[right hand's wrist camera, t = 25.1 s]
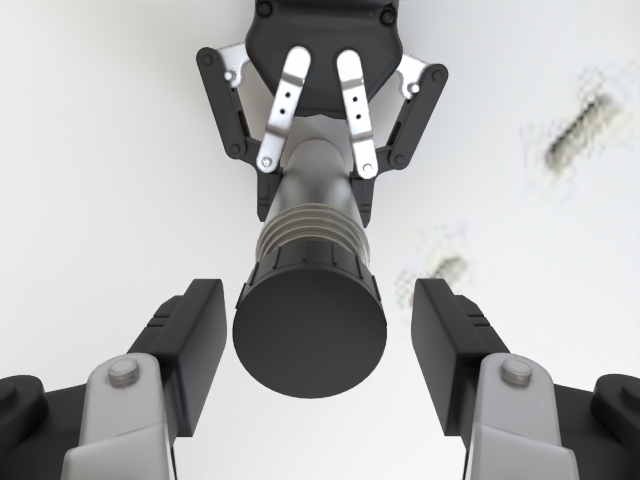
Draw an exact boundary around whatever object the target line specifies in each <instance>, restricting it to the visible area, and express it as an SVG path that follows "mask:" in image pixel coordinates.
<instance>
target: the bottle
mask: <svg viewBox="0 0 640 480" xmlns="http://www.w3.org/2000/svg"><path fill="white" fill-rule="evenodd" d="M304 239H307V241H309V240H312V241H323V242H328V243H331V244H332V243H335V244H336V245H338V246H340V247H342V248H344V249H346V250H348V251H349V252H351V253H353V254H354V255H355V256H357V255H358V256H359V258H360V260H361V261H362V262H363V263H364V264H365V266H366V267H367V268H368V269H369V262H370V249H369V244H368V240H367V237H366V233H365V230H364V227H363V224H362V220H361V217H360V214H359V210H358V207H357V204H356V200H355V197H354V194H353V191H352V187H351V184H350V181H349V177H348V174H347V171H346V167H345V164H344V161H343V158H342V155H341V153H340V152H339V150H338V149H337V148H336V147H335V146H334V145H333V144H331V143H330V142H328V141H325V140H321V139H311V140H307V141H305V142H303V143H301V144H300V145H298V146H297V147H296V148H295V149H294V151H293V152H292V154H291V156H290V159H289V162H288V164H287V167H286V169H285V172H284V174H283V177H282V180H281V182H280V185H279V187H278V190H277V192H276V195H275V197H274V200H273V203H272V205H271V208H270V210H269V213H268V215H267V218H266V221H265V223H264V226H263V228H262V231H261V233H260V236H259V239H258V241H257V246H256V262H257V261H258V262H260V261H261V259H263V258H264V257H265V256H266V255H267V254H269V253H270V252H272V251H273V250H275V249H277V247H278V246H280V247H281V246H283V245H287V244H290V243H293V242H299V241H304Z"/></svg>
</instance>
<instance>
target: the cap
mask: <svg viewBox="0 0 640 480" xmlns="http://www.w3.org/2000/svg"><path fill="white" fill-rule="evenodd" d="M235 309H237V311H236V314H235V318H234V322H233V343H234V347H235V350H236V353H237V356H238V358H239V360H240V362H241V363H242V365H243V366H244V368H245V369H246V370H247V371H248V372H249V374H250V375H251V376H252V377H253V378H255V379H256V380H257V381H258V382H259V383H261V384H262V385H264V386H265V387H267V388H269V389H271V390H273V391H275V392H278V393H281V394H283V395H287V396H291V397H297V398H307V399H313V398H324V397H330V396H333V395H337V394H340V393H343V392H345V391H347V390H349V389H351V388H353V387H355V386H356V385H358V384H359V383H361V382H362V381H363V380H364V379H366V378H367V377H368V376H369V375H370V374H371V373H372V371H373V370H374V369H375V368H376V366H377V365H378V363H379V361H380V359H381V357H382V355H383V353H384V349H385V346H386V340H387V327H386V326H387V322H386V318H385V315H384V311H383V307H382V304H381V297H380V294H379V290H378V287H377V283H376V280H375V276H374V275H373V276H372V275H371V273H370V271H369V270H368V268H367V267H366V266H365V264H364V263H363V262H362V261H361V260H360V258H359V256H358V255H357V256H355V255H354V254H353V253H351V252H349V251H348V250H346V249H344V248H342V247H340V246H338V245H336V244H335V243H332V244H331V243H328V242H323V241H312V240H309V241H307V239H304V241H299V242H293V243H290V244H287V245H283V246H281V247H280V246H278V247H277V249H275V250H273V251H272V252H270V253H269V254H267V255H266V256H265V257H264V258H263V259H261V261H260V262H258V261H257V262H256V264H255V267H254V269H253V271H252V272H251V274H250V276H249V278H248V281H247V283H244V286H243V288H242V291H241V294H240V296H239V299H238V302H237V304H236V307H235Z"/></svg>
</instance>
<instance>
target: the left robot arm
mask: <svg viewBox="0 0 640 480" xmlns="http://www.w3.org/2000/svg"><path fill="white" fill-rule="evenodd" d="M398 6H399V0H255V15H254V19H253V22H252V25H251V27H250V29H249V31H248V33H247V35H246V39H245V42H242V43H239V44H235V45H231V46H228V47H224V48H220V49H212V48H209V47H204V48H202V49H200V50H199V51H198V53H197V56H196V61H197V65H198V68H199V71H200V74H201V77H202V80H203V83H204V86H205V90H206V93H207V96H208V99H209V102H210V105H211V108H212V111H213V114H214V117H215V121H216V124H217V127H218V130H219V133H220V136H221V139H222V142H223V145H224V148H225V151H226V154H227V155H228V156H229V157H230V158H232V159H240V160H242V161H244V162H247V163H249V164H251V165H252V166H253V167H254V168H255V169H256V171H257V176H258V179H257V214H258V217H259V219H260V222H265V221H266V218H267V215H268V213H269V210H270V208H271V205H272V203H273V200H274V197H275V195H276V192H277V190H278V187H279V185H280V182H281V180H282V177H283V167H280V159H281V156H282V153H283V150H284V147H285V144H286V141H287V137H288V134H289V132H290V129H291V126H292V123H293V120H294V117H295V116H299V117H308V116H313V115H318V114H322V115H325V116H328V117H331V118H334V119H345V122H346V127H347V131H348V135H349V140H350V145H351V150H352V155H353V160H354V165H353V172H349V181H350V184H351V187H352V191H353V194H354V197H355V200H356V204H357V207H358V210H359V214H360V217H361V220H362V224H363V227H364V228H366V227H367V225H368V223H369V222H370V216H371V207H372V198H373V189H374V182H375V179H376V178H377V176H378V175H379V174H381V173H383V172H386V171H389V170H393V169H396V170H402V169H404V168H406V167H407V166H408V164H409V163H410V160H411V158H412V156H413V154H414V152H415V149H416V147H417V145H418V143H419V141H420V138H421V136H422V134H423V132H424V130H425V128H426V125H427V123H428V121H429V119H430V117H431V114H432V112H433V110H434V108H435V106H436V103H437V101H438V99H439V97H440V95H441V93H442V90H443V88H444V86H445V84H446V82H447V79H448V70H447V68H446V67H445V66H444V65H442V64H429V63H426V62H424V61H422V60H419V59H417V58H415V57H412V56H410V55H408V54H405V53H403V47H402V43H401V41H400V38H399V35H398V30H397V15H398ZM250 61H251V62H252V64H253V65H254V67H255V68H256V70H257V72H258V73H259V75H260V76H261V78H262V79H263V81H264V83H265V84H266V86H267V87H268V89H269V90H270V92H271V93H272V95H273V97H274V98H275V99H274V102H273V105H272V109H271V112H270V115H269V118H268V122H267V125H266V130H265V134H264V137H263V140H262V142H260V141H258V140H256V139H253V138H251V135H250V132H249V128H248V125H247V121H246V118H245V115H244V111H243V108H242V105H241V101H240V98H239V94H238V91H237V88H236V87H239V86H241V85H242V84H243V82H244V79H245V75H244V69H245V66H246V64H247V63H248V62H250ZM395 71H396V72H397V73H398V74H399V76H400V85H399V92H400V94H401V96H402V97H403V98H405V101H404V104H403V106H402V108H401V111H400V113H399V115H398V118H397V120H396V122H395V125H394V127H393V129H392V132H391V134H390V136H389V139H388V141H387V143H386V146H384V147H380V148H377V149H375V147H374V142H373V132H372V126H371V120H370V115H369V109H368V103H369V102H370V101H371V100H372V98H373V97H374V96H375V95H376V93H377V92H378V91H379V90H380V89H381V87H382V86H383V85H384V84H385V83H386V81H387V80H388V79H389V78H390V76H391V75H392V74H393V73H394V72H395Z"/></svg>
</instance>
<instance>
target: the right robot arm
mask: <svg viewBox="0 0 640 480" xmlns="http://www.w3.org/2000/svg"><path fill="white" fill-rule="evenodd" d="M411 337H412V344H413V348H414V350H415V353H416V356H417V359H418V362H419V365H420V367H421V370H422V373H423V376H424V379H425V381H426V384H427V387H428V390H429V393H430V396H431V398H432V401H433V404H434V407H435V410H436V413H437V415H438V418H439V421H440V424H441V427H442V430H443V432H444V435H445V436H461V438H462V441H463V443H464V446H465V448H466V453H465V458H464V466H463V474H462V480H640V379H639V378H636V377H633V376H628V375H623V374H607V375H603V376H601V377H600V378H599V379H598V380H597V382H596V385H595V388H594V391H593V392H590V391H585V390H580V389H575V388H571V387H566V386H561V385H557V384H553V381H552V378H551V376H550V374H549V373H548V372H547V371H546V370H545V369H544V368H543V367H542V366H540V365H539V364H538V363H536V362H534V361H532V360H530V359H528V358H526V357H523V356H520V355H516V354H511V353H510V351H509V350H508V348H507V347H506V346H505V344H504V343H503V341H502V340H501V338H500V337H499V336H498V334H497V333H496V331H495V330H494V329H493V327H492V326H490V323H489V321H488V320H487V319H486V317H484V314H483V313H482V312H481V310H480V309H479V307H478V306H477V304H475V303H474V302H472V301H471V300H469V299H468V298H466V297H465V296H463V295H454V294H453V292H452V291H451V289H450V287H449V286H448V284H447V283H446V281H445V280H444V279H417V280H416V283H415V290H414V301H413V311H412V322H411ZM226 338H227V322H226V312H225V302H224V291H223V284H222V281H221V279H194V280H193V281H192V283H191V284H190V286H189V287H188V289H187V290H186V292H185V294H184V295H183V296H174V297H172V298H171V299H169V300H168V301H166V302H165V303H163V304H162V305H161V306H160V307H159V309H158V310H157V311H156V313H155V314H154V316H153V318H151V320H150V321H149V323H148V324H147V327H145V328H144V330H143V331H142V332H141V334H140V335H139V337H138V338H137V339H136V341H135V342H134V344H133V345H132V346H131V348H130V349H129V350H128V352H127V353H126V354H124V355H120V356H117V357H114V358H112V359H110V360H108V361H106V362H104V363H102V364H101V365H100V366H98V367H97V368H96V369H95V370H94V371H93V372H92V373H91V374H90V376H89V378H88V381H87V383H86V384H83V385H79V386H75V387H70V388H65V389H60V390H56V391H51V392H46V393H45V391H44V388H43V384H42V382H41V380H40V379H39V378H37V377H35V376H30V375H17V376H11V377H7V378H3V379H0V480H178V474H177V466H176V458H175V453H174V447H173V444H174V441H175V439H176V437H193V434H194V431H195V428H196V426H197V423H198V420H199V417H200V414H201V412H202V409H203V406H204V403H205V401H206V398H207V395H208V392H209V390H210V387H211V384H212V381H213V378H214V376H215V373H216V370H217V367H218V365H219V362H220V359H221V356H222V353H223V351H224V348H225V344H226Z"/></svg>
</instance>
